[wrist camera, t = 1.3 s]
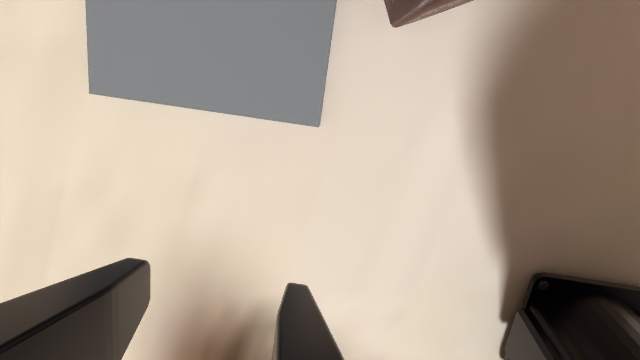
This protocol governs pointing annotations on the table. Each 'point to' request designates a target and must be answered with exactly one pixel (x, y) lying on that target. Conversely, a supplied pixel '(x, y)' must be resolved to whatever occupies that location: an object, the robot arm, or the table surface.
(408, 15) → the box
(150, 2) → the mat
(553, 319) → the robot arm
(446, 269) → the table surface
